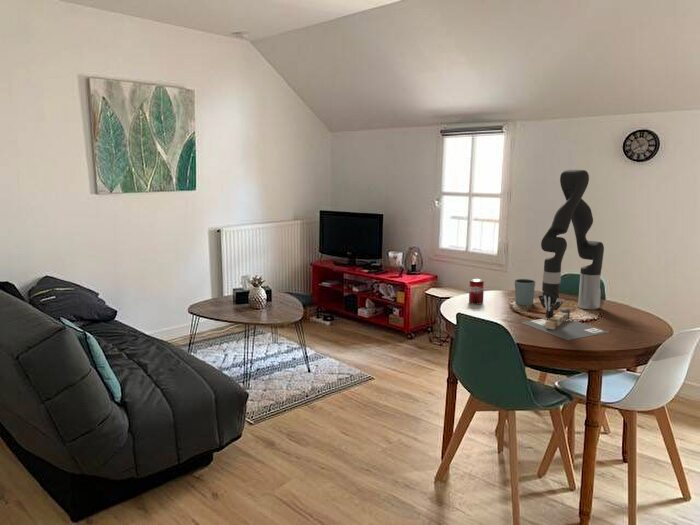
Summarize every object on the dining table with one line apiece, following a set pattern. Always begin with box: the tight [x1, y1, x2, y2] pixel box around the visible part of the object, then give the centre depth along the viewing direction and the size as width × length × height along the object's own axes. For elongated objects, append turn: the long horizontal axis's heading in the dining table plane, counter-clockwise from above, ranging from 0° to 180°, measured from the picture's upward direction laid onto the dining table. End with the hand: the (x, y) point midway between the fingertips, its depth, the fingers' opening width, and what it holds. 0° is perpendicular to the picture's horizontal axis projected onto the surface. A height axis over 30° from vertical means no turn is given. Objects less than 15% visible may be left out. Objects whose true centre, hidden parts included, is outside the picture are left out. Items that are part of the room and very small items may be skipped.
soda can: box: [468, 278, 485, 305], centre depth 277 cm, size 7×7×12 cm
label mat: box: [519, 318, 610, 341], centre depth 235 cm, size 24×28×1 cm
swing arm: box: [545, 307, 571, 329], centre depth 240 cm, size 23×4×4 cm, turn 142°
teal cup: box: [514, 278, 536, 306], centre depth 275 cm, size 10×10×12 cm
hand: (549, 318), depth 242 cm, fingers closed
